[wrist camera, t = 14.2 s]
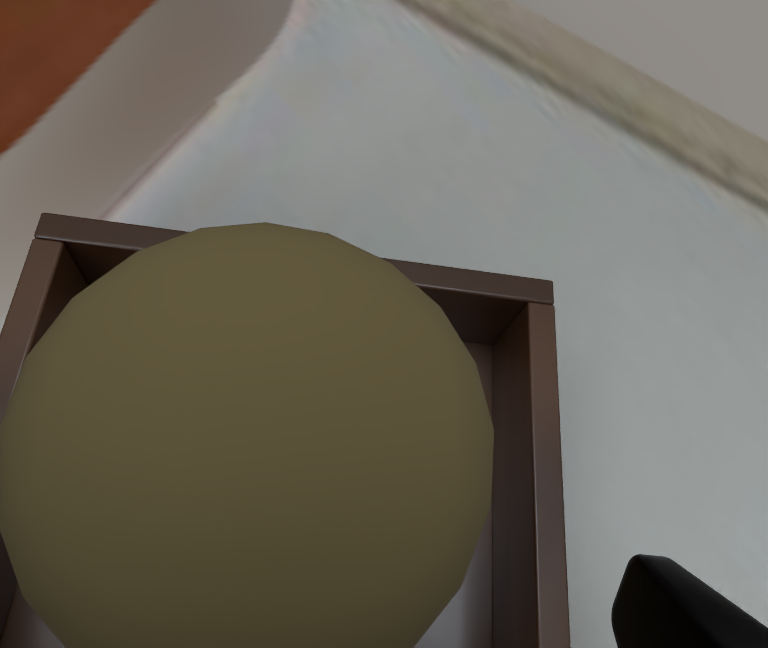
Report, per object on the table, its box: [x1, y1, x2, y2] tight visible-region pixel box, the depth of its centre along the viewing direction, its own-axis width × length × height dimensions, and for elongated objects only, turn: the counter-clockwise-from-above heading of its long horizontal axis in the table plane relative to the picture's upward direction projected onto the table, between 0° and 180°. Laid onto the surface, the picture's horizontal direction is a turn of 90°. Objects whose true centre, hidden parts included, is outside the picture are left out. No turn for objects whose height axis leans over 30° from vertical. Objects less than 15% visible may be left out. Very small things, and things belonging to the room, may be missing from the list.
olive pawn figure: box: [0, 222, 494, 648], centre depth 11 cm, size 6×6×11 cm
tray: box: [0, 213, 570, 648], centre depth 15 cm, size 12×12×4 cm
